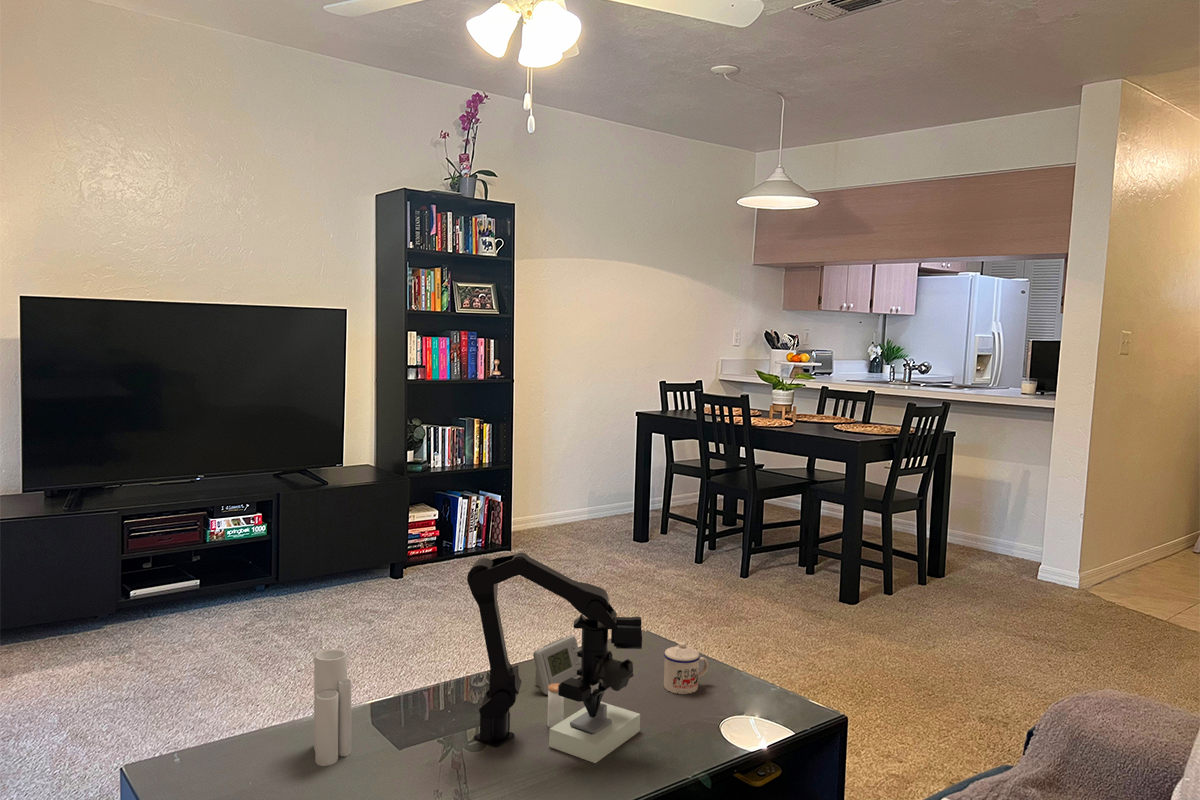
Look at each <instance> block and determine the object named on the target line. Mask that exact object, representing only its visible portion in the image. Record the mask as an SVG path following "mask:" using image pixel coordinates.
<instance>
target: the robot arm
mask: <svg viewBox="0 0 1200 800" xmlns="http://www.w3.org/2000/svg"><path fill="white" fill-rule="evenodd" d="M517 576H520V577H522V578H525V579H526V580H528V581H530V582H532V583H534V584H536V585H538V586H540V587H542V588H543V589H545V590H547V591H549V592H551V593H553V594H554V595H556V596H559V597H560V598H562V599H564V600H566V602H568V603H570V605H571V606H572V607H573V609H574V608H575V610H576V611H577V612H579V613H580V615H579V616H578V617H577V618H576V619H574V620H573V625H572V627H573V628H574V629H581V644H580V645H581V646H580V647H581V648H580V650H579V651H578V652H577V656H578V657H581V668H580V669H578V670H577V675H579V676H582V677H581V678H579V679H575V678H569V679H567V680H565V681H564V682H562V683H561V684H559V685H558V695H559V696H562V697H564V699H569V700H571V701H575V702H578V703H580V702H582V703H583V705H584V707H586V709H587V711H588V714H589V716H590V717H592V718H594V717H595V716H596V714H597V711H598V708H599V705H600V702H602V699H603V696H604V694H605V692H606V691H607V690H609V689H610V688H611V690H612V691H615V692H619V691H621V690H622V689H624V688H626V687H627V686H628V683H629V681H630V679H631V678H633V677H634V673H633V672H634V665H633V663H634V662H633V661H632V660H630V659H629V658H627V659H625V660H623V661H621V660H619V659H615V658H613V653H612V651H611V650H608V649H609V630H610V632H611V633H610V644H613V647H614V648H615V649H618V650H620V649H621V650H622V649H623V650H642V649H643V648H642V647H643V632H642V617H641V616H632V617H631V616H629V617H628V616H617V615H618V613H617V612H616V610H615V608H614V607H613V605H611V603H610V598H609V594H608V592H607V591H606V590H605V589H604V588H603V587H600V586H596V585H594V584H590V583H587V582H581V581H576V580H574V579H572V578H570V577H568V576H566V575H565V574H562V573H561V572H559V571H557V570H555V569H553V568H551V567H549V566H547V565H545V564H543V563H542V562H540V561H538V560H536V559H535V558H532V557H530V556H529V555H528V554H527V553H525V552H516V554H515V553H514V554H511V555H504V556H499V557H494V558H492V559H491V558H486V557H482V558H478V559H477V560H476V561H475V562H474V563H473V565H472V566H471V568H470V569H469V571H468V574H467V575H466V579H467V580H466V581H467V584H468V587H469V590H470V592H471V595H472V597H473V599H474V600H475V602H476V603H477V605H478V609H479V615H480V619H481V625H482V630H483V638H484V641H485V646H486V652H487V657H488V658H487V659H488V664H489V682H488V690H486V691H485V692H484V694H483V698H482V701H481V703H480V706H479V708H478V712H479V733H477V734H475V735H474V737H473V738H474V739H475V740H477V741H479V742H481V743H484V744H488V745H490V746H492V747H498V746H500V745H502V744H503V743H506V742H507V741H508V740H510V739H512V738H514V737H515V733H514V732H511V731H510V730H511V725H510V724H511V713H510V708H512V707H513V706H514V705H515V703H516V700H517V696H518V695H519V692H520V689H521V685H522V679H521V678H520V675H519V665H514V666H512V664H511V662H510V660H509V657H508V651H507V646H506V640H505V635H504V630H503V624H502V617H501V613H500V607H499V602H498V589H499V584H500V583H502V582H504V581H506V580H509V579H511V578H515V577H517Z"/></svg>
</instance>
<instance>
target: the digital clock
mask: <svg viewBox="0 0 1200 800" xmlns="http://www.w3.org/2000/svg"><path fill="white" fill-rule="evenodd" d="M578 651H580V650H579V645H578V641H577V638H576V637H575V635H573V634H571V635H568V636H565V637H561V638H558V639H557V640H555V641H553V642H550V643H548V644H546V645H543V646H542V647H541V648H538V649H536V650H534V651H533V653H532V656H533V660H534V665H535V668H536V669H535V678H534V679H535V680H534V681H535V684H534V685H535V687H539V688H540V689H541V692H542V693H543V694H544V695H548V686H549V685H550V684H554V683H559V684H561V683H562V682H564V681H565V680H567V679H569V678H575V679H578V680H580V679H582V676H579V675H577V670H578V669H580V668H581V657H578V656H577V652H578Z"/></svg>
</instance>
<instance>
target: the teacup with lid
mask: <svg viewBox="0 0 1200 800" xmlns="http://www.w3.org/2000/svg"><path fill="white" fill-rule="evenodd" d="M663 656H664V666H663V667H664V668H663V669H664V671H663V672H664V673H663V687H664V689H665V690H666V691H668V692H669V691H670V692H669V693H672V694H677V693H678V694H677V695H688V694H687V693H690V694H693V693H696V691H697V690H698V689H699V678H701V677H703V676H704V675H705V674H706V673H707V671H708V669H709V661H708V660H707V659H706V658H705V657H702V656H701V655H700V653H699V651H698V650H696V649H694V648H693V647H689V646H687V643H686V642H684V641H680V642H678V644H677V645H675V646H671V647H668V648H667V649H665V651H664V653H663ZM701 661H702V662H703V663H704V665H703V668H702V670H701V671H700V672H699V669H700V668H699V665H700V662H701ZM692 692H693V693H692Z"/></svg>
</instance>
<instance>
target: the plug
mask: <svg viewBox="0 0 1200 800" xmlns="http://www.w3.org/2000/svg"><path fill="white" fill-rule="evenodd" d="M558 685H559V683H554V684H550V685H549V686H548V694H547V722H546V723H547V724H546V725H547V727H548V728H549V729H550V728H552V727H553V726H555V725H556V724H558V723H560V722H561V721H563V720H564V713H565V712H564V711H565V710H564V707H565V706H564V705H565V697H562V696H559V695H558Z"/></svg>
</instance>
